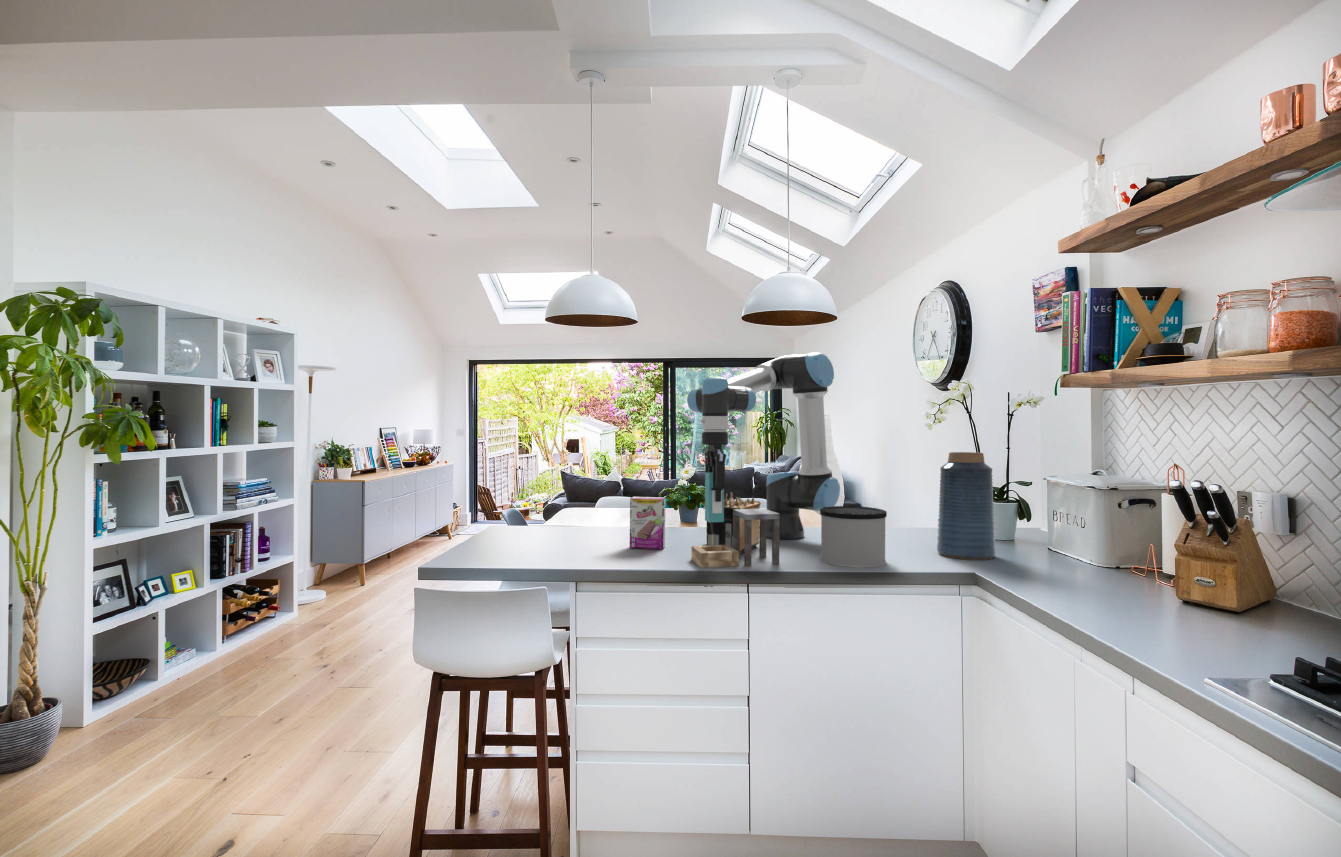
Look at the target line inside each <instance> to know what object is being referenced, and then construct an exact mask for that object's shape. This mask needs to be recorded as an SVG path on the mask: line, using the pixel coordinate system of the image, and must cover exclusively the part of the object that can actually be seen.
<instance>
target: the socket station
mask: <svg viewBox="0 0 1341 857" xmlns="http://www.w3.org/2000/svg"><path fill="white" fill-rule="evenodd" d="M740 518H743V519H744V553H743V556H744V557H743V562H744V563H743V564H744V566H746V567H749V566H750V567H751V566H752V550H751V543H752V520H759V543H758V544H759V545H758V546H759V547H758V549H759V551H758V552H759V553H758V554H759V555H758V556H759V557H760V558H767V537H766V519H772V538H771V564H772V565H776V566H777V565H780V539H779V513H776V512H773V511H770V510H767V508H759V509H733V548H732V547H730V546H728V545H707V546H706V545H705V546H702V545H692V546H691V561H693V562H694V563H695V564H696V565H698V567H700V568H718V567H719V568H722V567H739V564H740V563H739V561H740V558H741V555H740Z"/></svg>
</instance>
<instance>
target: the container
mask: <svg viewBox="0 0 1341 857" xmlns="http://www.w3.org/2000/svg"><path fill="white" fill-rule="evenodd" d="M887 513H888V512H887V510H884V509H882V508H878V507H877V508H876V507H867V506H854V505H853V506H851V505H835V506H832V507H825V508H821V509H820V511H819V515H821V520H820V521H821V523H820V524H821V530H820V531H821V532H820V534H821V536H820V537H821V540H820V542H821V544H820V545H821V547H820V548H821V549H820V551H821V552H820V555H821V556H820V560H821V561H822V562H824V563H826V564H830V565H835V566H839V567H840V566H841V567H847V568H848V567H849V568H876V567H881V566H883V565H885V564H886V562H887V561H886V518H887V515H888V514H887Z"/></svg>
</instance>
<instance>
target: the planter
mask: <svg viewBox="0 0 1341 857" xmlns="http://www.w3.org/2000/svg"><path fill="white" fill-rule="evenodd" d="M733 496H734V495H733V492H732V491H731V492H730V496H729V498H727V497H728V493H727V492H726V493H725V494H724V522H707V521H706V543H705V544H701V546H707V545H728V546H730V547H732V548H733V509H761V508H760V507H761V501H760V500H755V497H752V498H751V499H750V498H748V497H747V499H746V500H743V499H742V498H741V497H739V496H736V497H735V499H734V498H733ZM758 544H759V520H752V543H751V551H753V550H754V549H759V547H758V546H757V545H758ZM741 555H744V519H743V518H740V556H741Z"/></svg>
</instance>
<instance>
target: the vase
mask: <svg viewBox="0 0 1341 857" xmlns="http://www.w3.org/2000/svg"><path fill="white" fill-rule="evenodd" d="M939 474H940V476H939V479H940V480H939V495H938V496H939V501H938V502H939V503H938V506H939V507H938V519H937V527H938V528H937V544H936V549H937V551H936V552H938V553H939V554H940V555H941V556H943V557H947V558H951V559H957V560H965V561H985V560H990V559H993V558H994V557H995V555H996V539H995V537H996V536H995V534H996V533H995V529H996V528H995V521H994V520H995V518H994V513H995V512H994V508H995V507H994V492H993V491H994V485H993V467H991V466H989V465H988V464H986V463H985V456H984V453H983V452H965V451H964V452H961V451H959V452H958V451H957V452H956V451H951V452H950V451H949V453H948V458H947V462H946V463H945V464H943V465H942V466H940V473H939Z"/></svg>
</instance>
